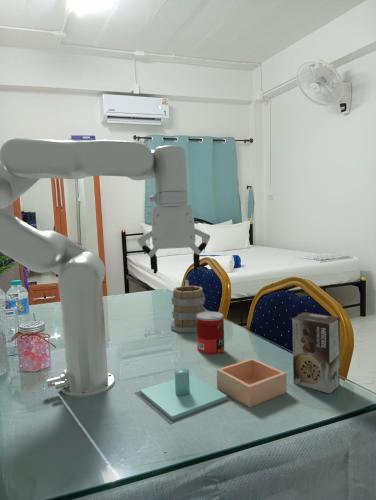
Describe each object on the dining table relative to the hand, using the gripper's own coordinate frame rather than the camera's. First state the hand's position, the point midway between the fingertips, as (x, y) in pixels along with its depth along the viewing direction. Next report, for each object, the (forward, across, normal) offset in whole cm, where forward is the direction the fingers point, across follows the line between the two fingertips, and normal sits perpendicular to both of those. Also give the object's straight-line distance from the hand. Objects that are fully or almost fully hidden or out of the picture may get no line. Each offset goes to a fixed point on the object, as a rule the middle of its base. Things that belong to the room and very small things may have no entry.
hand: (175, 271), depth 94 cm
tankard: (+27, +3, +45) cm, 53 cm away
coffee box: (+28, +32, -5) cm, 43 cm away
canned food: (+27, +9, +18) cm, 34 cm away
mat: (+27, 0, -10) cm, 29 cm away
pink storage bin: (+27, +16, -8) cm, 33 cm away
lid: (+26, 0, -10) cm, 28 cm away
